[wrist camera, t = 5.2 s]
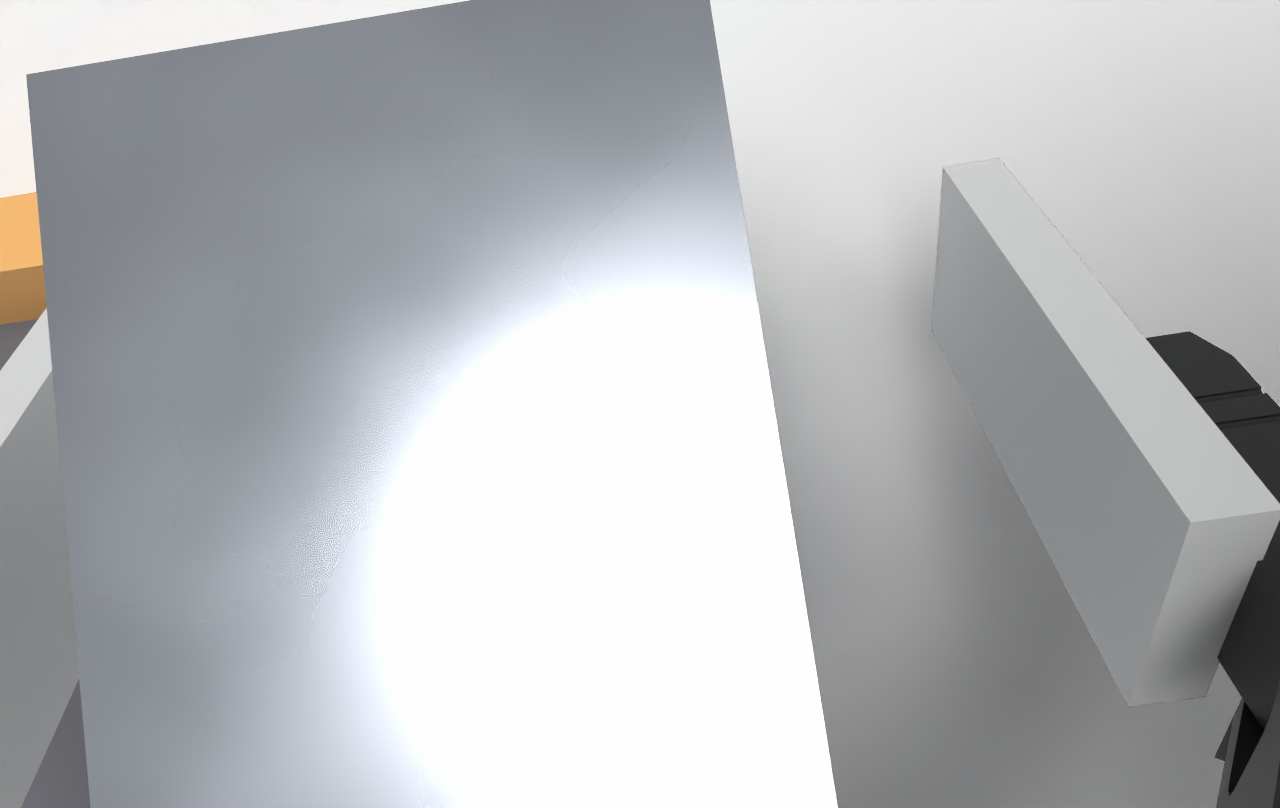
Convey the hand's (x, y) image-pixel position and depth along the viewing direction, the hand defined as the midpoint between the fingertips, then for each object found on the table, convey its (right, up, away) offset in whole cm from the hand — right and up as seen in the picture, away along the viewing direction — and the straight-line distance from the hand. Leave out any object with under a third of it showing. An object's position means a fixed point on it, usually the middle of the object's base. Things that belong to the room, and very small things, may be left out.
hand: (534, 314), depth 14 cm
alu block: (+1, -3, +5) cm, 6 cm away
